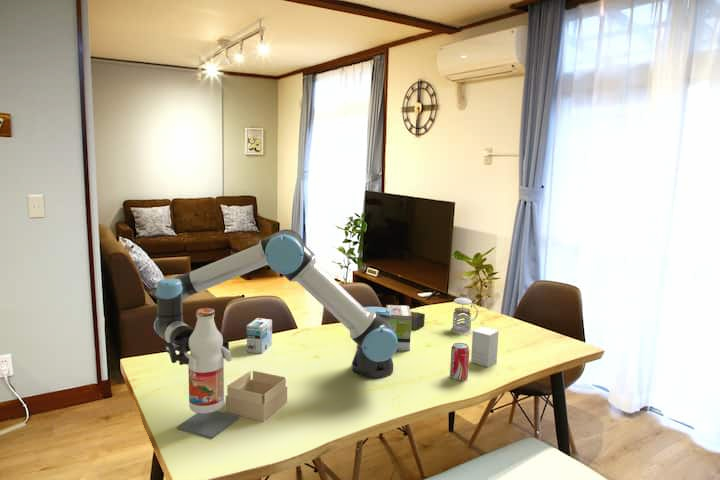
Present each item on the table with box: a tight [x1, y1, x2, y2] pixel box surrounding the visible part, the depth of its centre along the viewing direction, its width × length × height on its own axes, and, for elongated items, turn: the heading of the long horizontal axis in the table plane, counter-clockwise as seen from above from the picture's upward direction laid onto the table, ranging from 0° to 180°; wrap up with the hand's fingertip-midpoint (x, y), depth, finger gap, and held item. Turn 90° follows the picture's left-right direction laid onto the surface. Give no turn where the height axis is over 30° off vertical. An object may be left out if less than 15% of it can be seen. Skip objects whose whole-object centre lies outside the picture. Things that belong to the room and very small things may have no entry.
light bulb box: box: [246, 317, 273, 354], centre depth 199 cm, size 11×7×11 cm, turn 168°
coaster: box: [176, 410, 240, 439], centre depth 143 cm, size 12×12×1 cm
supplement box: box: [470, 326, 499, 368], centre depth 191 cm, size 7×7×13 cm
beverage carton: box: [410, 310, 426, 331], centre depth 234 cm, size 8×19×7 cm, turn 60°
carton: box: [225, 370, 288, 422], centre depth 152 cm, size 13×13×8 cm
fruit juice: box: [187, 307, 225, 414], centre depth 140 cm, size 9×9×28 cm
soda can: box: [449, 342, 471, 381], centre depth 177 cm, size 6×6×12 cm
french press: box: [450, 276, 479, 335], centre depth 226 cm, size 10×12×25 cm
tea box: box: [385, 304, 412, 351], centre depth 208 cm, size 15×10×15 cm, turn 179°
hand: (212, 360), depth 136 cm, fingers closed on fruit juice, 9 cm apart
